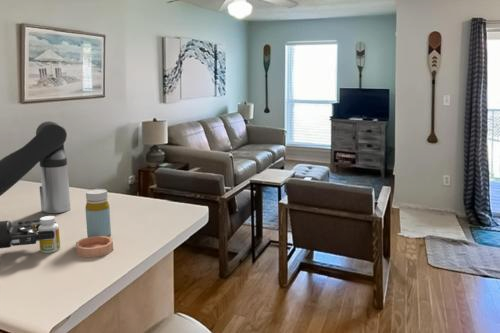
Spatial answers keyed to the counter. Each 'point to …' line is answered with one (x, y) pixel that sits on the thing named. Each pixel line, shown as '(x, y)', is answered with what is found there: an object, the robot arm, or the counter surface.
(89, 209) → the bottle
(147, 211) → the counter surface
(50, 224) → the supplement bottle
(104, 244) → the terracotta dish
